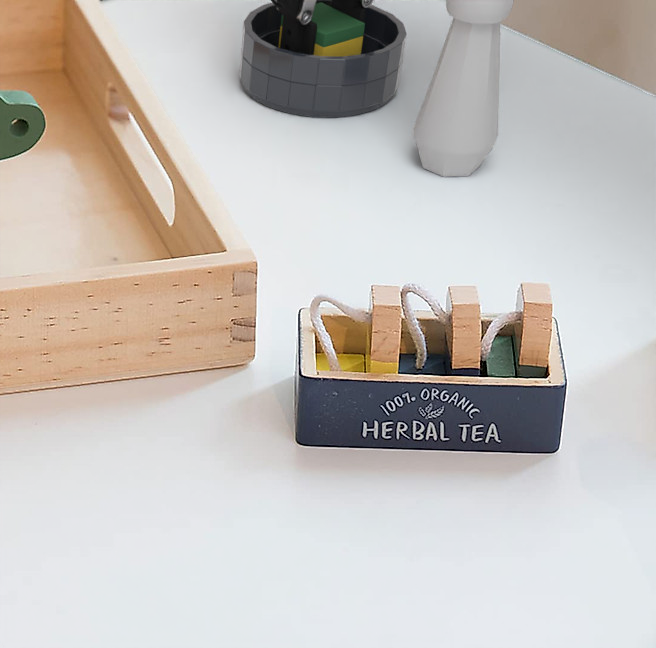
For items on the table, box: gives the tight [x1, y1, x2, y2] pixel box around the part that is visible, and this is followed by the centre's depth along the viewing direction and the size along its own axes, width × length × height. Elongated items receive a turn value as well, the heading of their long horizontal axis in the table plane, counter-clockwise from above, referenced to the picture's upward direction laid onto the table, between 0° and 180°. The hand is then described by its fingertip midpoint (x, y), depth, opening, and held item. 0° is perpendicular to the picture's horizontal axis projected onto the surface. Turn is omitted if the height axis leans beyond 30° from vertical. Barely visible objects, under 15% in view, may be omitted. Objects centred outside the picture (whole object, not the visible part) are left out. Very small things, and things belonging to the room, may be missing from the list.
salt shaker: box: [412, 0, 515, 178], centre depth 104 cm, size 6×6×13 cm
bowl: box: [239, 0, 408, 118], centre depth 117 cm, size 12×12×5 cm
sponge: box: [278, 2, 365, 56], centre depth 117 cm, size 4×5×4 cm
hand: (318, 59), depth 118 cm, fingers closed on sponge, 4 cm apart
